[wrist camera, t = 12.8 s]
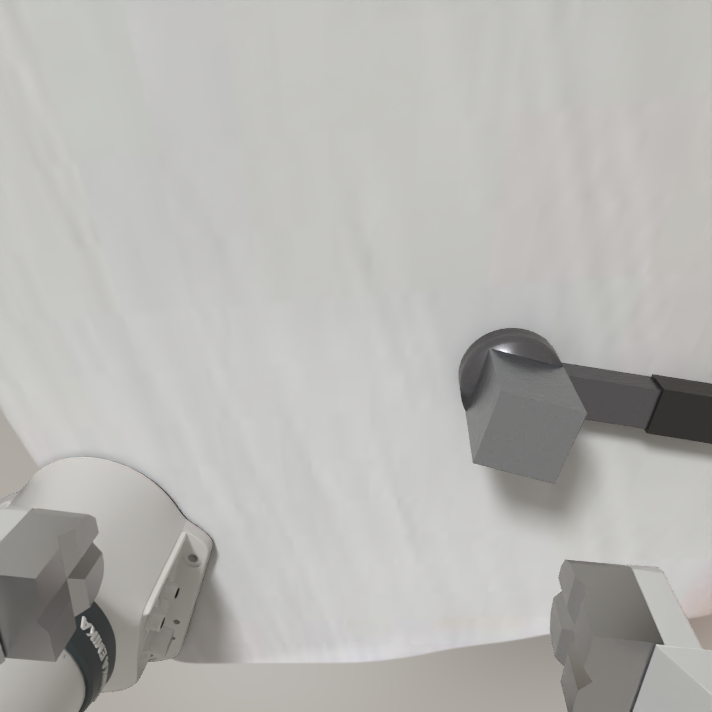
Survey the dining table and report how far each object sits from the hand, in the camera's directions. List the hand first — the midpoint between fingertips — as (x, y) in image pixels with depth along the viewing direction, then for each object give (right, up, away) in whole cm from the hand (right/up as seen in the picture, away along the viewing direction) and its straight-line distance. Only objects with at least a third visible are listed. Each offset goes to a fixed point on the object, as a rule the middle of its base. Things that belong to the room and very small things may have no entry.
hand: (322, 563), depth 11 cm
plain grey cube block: (+11, +1, +30) cm, 32 cm away
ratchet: (+17, +1, +32) cm, 36 cm away
